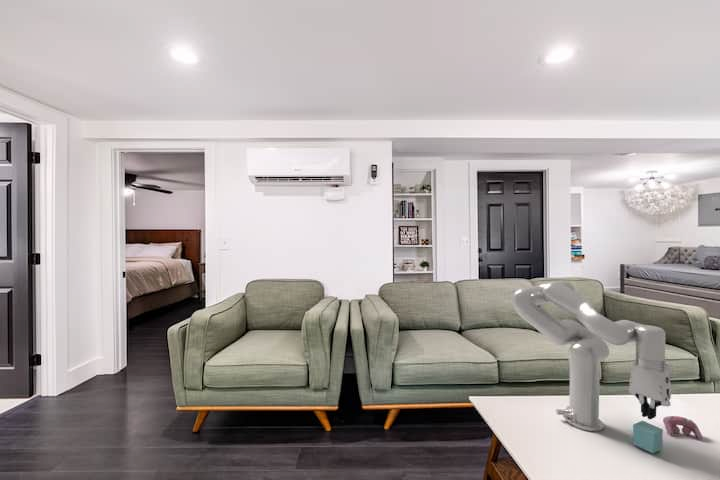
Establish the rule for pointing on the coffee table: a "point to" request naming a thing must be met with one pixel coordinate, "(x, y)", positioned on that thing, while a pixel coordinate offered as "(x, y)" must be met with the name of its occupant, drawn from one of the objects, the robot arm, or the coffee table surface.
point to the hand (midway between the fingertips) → (648, 416)
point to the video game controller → (686, 423)
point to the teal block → (647, 436)
